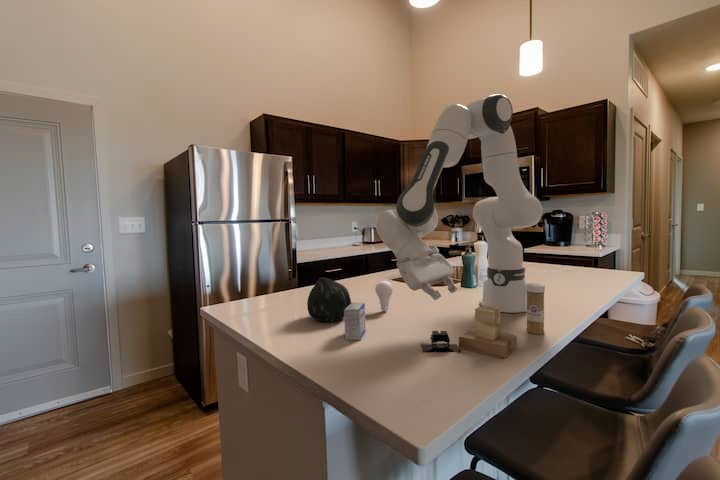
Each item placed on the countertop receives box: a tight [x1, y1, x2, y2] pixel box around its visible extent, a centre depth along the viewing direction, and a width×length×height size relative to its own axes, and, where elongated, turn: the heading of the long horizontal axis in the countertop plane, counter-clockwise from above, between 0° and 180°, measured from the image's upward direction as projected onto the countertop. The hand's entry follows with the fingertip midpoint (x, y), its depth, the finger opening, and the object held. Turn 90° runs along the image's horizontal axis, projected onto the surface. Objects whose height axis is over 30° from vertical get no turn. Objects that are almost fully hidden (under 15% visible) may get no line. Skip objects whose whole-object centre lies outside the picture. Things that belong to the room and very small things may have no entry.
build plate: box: [420, 330, 462, 354], centre depth 88 cm, size 12×7×5 cm, turn 85°
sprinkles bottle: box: [525, 282, 546, 335], centre depth 97 cm, size 5×5×14 cm
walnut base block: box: [458, 326, 518, 360], centre depth 87 cm, size 9×11×3 cm
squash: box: [306, 277, 352, 323], centre depth 116 cm, size 14×15×15 cm
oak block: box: [474, 305, 501, 340], centre depth 87 cm, size 4×4×7 cm
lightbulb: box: [374, 280, 394, 313], centre depth 122 cm, size 6×6×11 cm
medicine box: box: [343, 302, 367, 341], centre depth 99 cm, size 8×4×9 cm, turn 168°
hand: (446, 294), depth 93 cm, fingers open, 8 cm apart
